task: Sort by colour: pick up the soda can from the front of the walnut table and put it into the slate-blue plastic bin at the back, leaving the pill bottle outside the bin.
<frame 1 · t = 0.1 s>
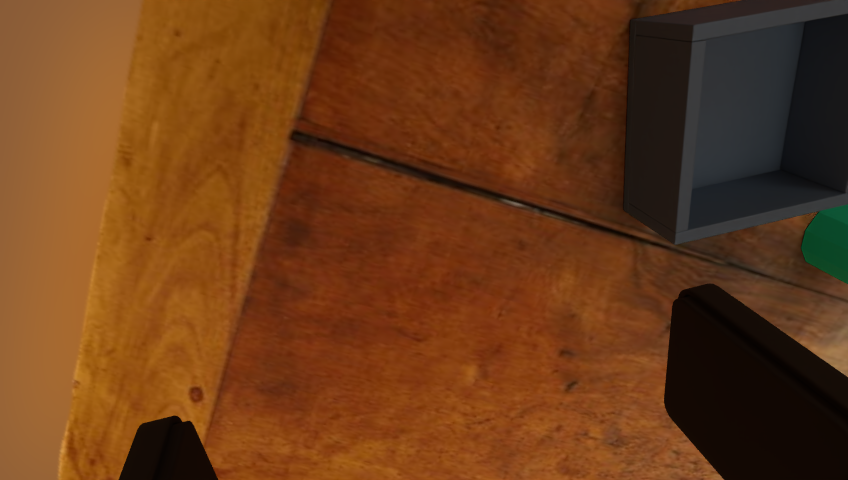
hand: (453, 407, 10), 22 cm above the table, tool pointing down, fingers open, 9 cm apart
candle: (833, 231, 41), on the table
bin: (712, 105, 34), on the table
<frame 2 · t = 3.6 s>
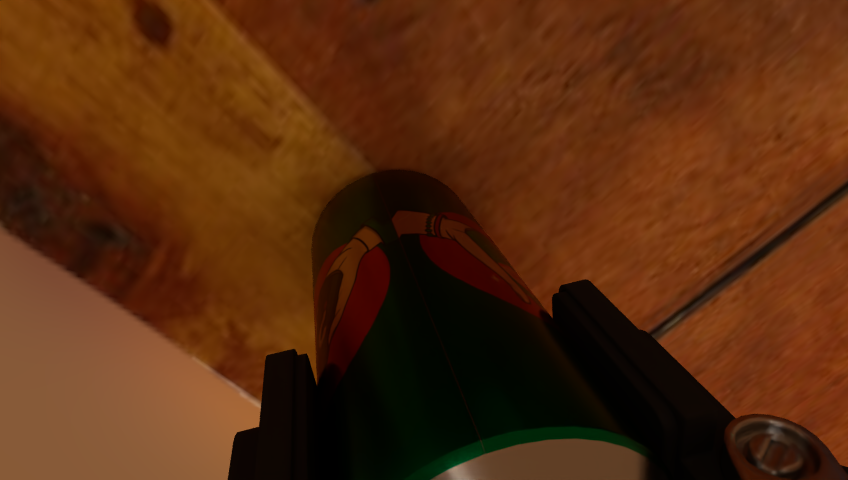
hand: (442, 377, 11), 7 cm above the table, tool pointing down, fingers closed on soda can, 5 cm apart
soda can: (390, 237, 17), on the table, touching gripper
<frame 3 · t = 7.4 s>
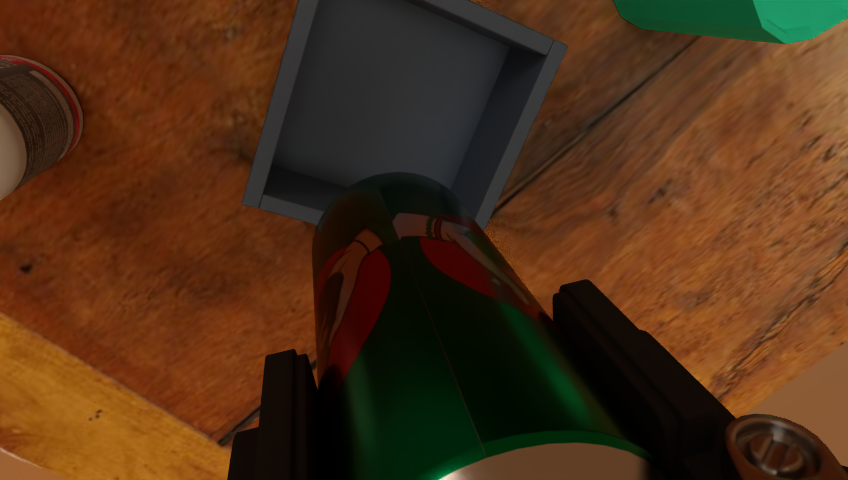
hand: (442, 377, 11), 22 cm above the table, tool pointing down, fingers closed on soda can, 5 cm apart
pill bottle: (26, 109, 26), on the table
soda can: (391, 239, 17), point 15 cm above the table, touching gripper
bin: (387, 103, 30), on the table
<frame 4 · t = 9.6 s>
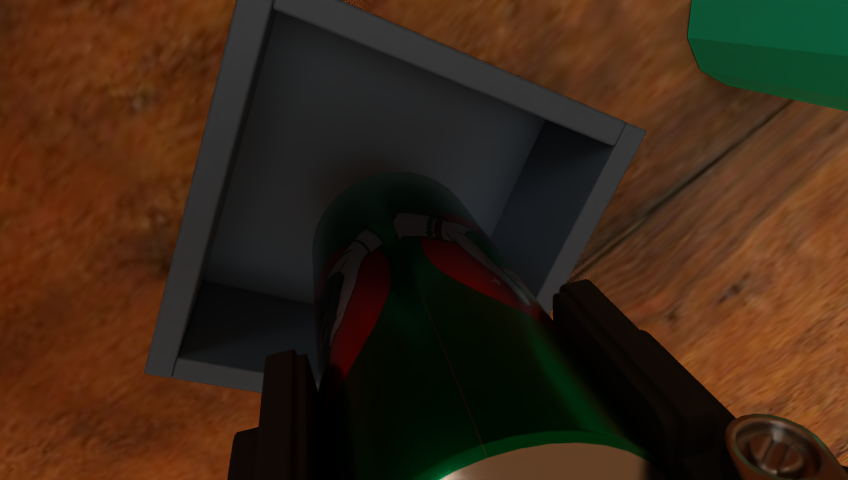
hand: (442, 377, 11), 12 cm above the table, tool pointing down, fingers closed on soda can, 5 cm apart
soda can: (391, 239, 17), point 5 cm above the table, touching gripper
candle: (750, 8, 21), on the table
bin: (374, 191, 21), on the table
when the fingers open (7 cm above the table, at t = 11.1 s): soda can stays where it is, resting on bin.
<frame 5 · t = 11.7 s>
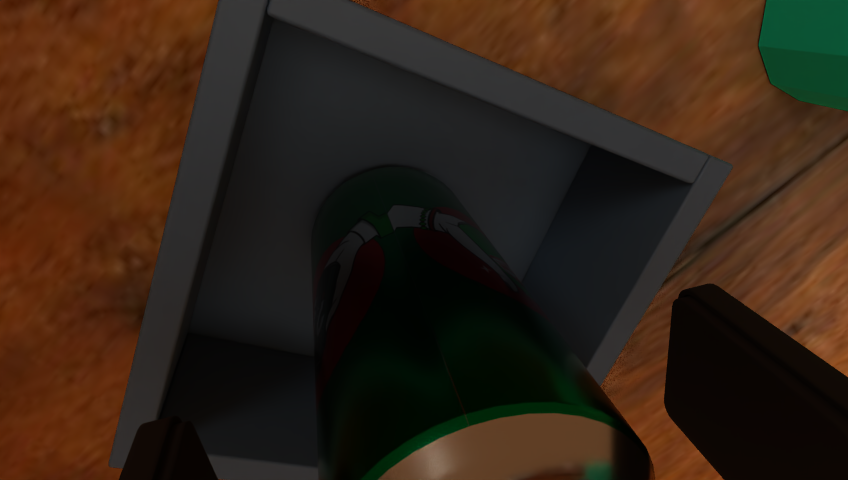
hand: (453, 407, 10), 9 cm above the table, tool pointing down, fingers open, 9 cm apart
soda can: (388, 233, 18), resting on bin
candle: (832, 11, 18), on the table
bin: (389, 227, 18), on the table
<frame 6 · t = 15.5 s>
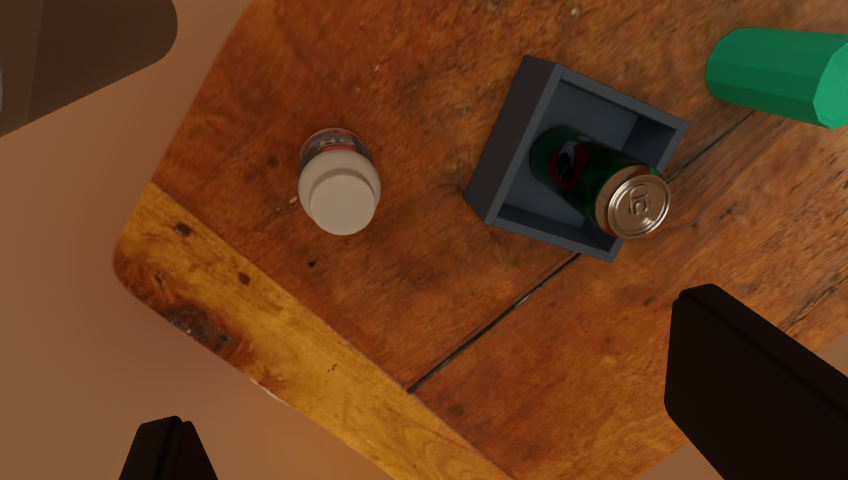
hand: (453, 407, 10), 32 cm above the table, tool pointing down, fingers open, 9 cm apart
pill bottle: (334, 160, 41), on the table
soda can: (556, 154, 44), resting on bin
candle: (735, 65, 44), on the table
bin: (554, 153, 44), on the table
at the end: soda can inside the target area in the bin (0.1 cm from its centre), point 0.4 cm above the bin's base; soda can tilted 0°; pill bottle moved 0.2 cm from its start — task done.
